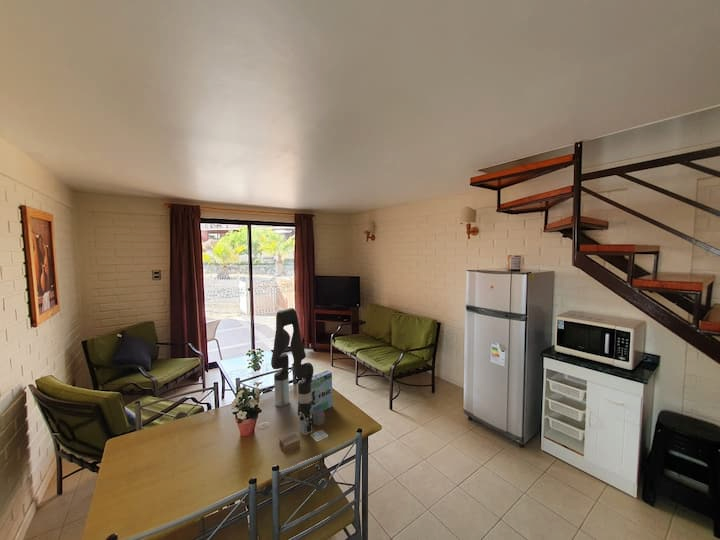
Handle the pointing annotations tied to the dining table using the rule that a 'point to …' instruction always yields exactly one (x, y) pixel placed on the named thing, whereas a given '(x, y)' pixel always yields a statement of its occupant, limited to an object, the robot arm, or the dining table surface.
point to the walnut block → (289, 442)
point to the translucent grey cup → (318, 417)
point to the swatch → (319, 435)
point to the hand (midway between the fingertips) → (305, 427)
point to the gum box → (321, 391)
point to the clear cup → (304, 427)
